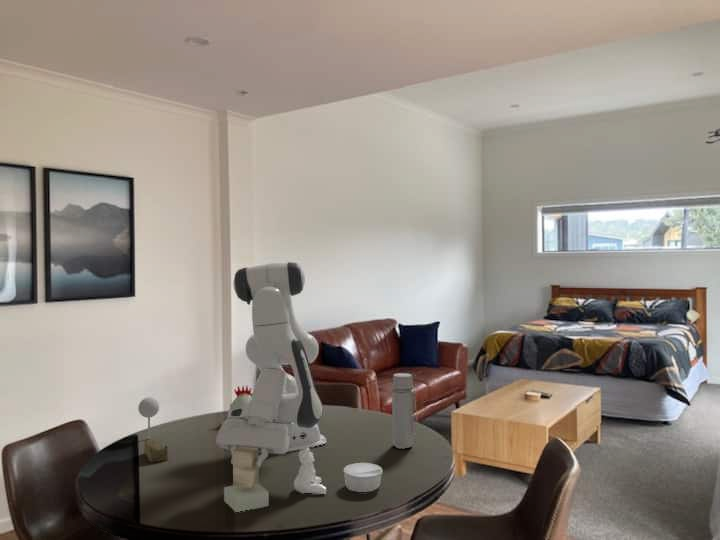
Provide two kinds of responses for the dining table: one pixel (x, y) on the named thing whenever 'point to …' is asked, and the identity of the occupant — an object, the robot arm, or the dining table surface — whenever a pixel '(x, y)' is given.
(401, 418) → the water bottle
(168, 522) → the dining table surface
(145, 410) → the lollipop
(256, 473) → the birch block
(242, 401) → the kitchen timer
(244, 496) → the sage block
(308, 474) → the seated beast figurine
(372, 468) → the ramekin
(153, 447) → the stone block
